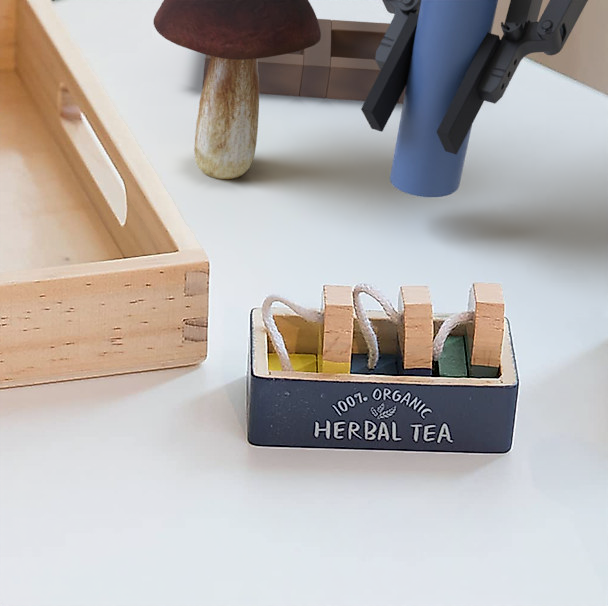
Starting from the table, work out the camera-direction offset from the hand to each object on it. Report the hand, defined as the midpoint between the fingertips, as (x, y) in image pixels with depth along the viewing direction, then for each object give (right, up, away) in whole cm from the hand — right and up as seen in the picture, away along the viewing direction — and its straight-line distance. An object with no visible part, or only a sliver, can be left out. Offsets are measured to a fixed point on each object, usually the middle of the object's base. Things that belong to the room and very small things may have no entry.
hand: (409, 131), depth 93 cm
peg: (+2, -2, +5) cm, 6 cm away
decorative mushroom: (-10, +1, +14) cm, 17 cm away
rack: (-1, +12, +26) cm, 29 cm away
